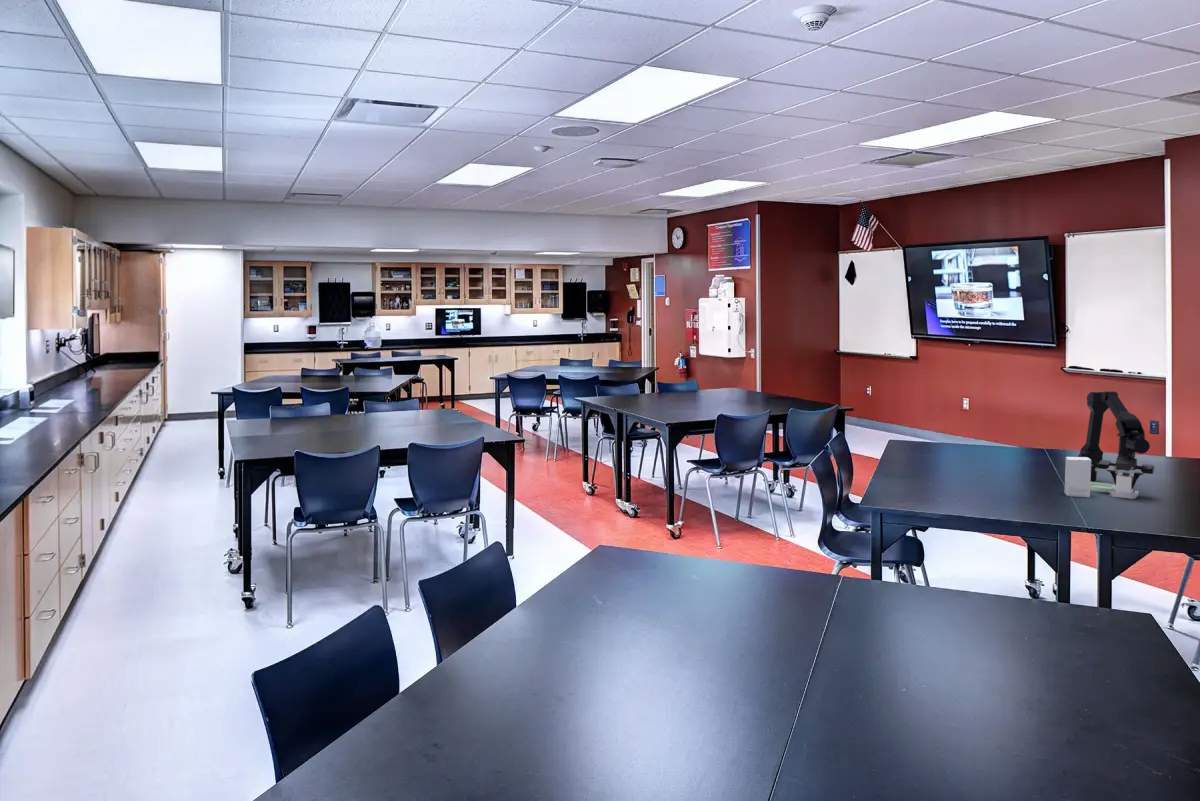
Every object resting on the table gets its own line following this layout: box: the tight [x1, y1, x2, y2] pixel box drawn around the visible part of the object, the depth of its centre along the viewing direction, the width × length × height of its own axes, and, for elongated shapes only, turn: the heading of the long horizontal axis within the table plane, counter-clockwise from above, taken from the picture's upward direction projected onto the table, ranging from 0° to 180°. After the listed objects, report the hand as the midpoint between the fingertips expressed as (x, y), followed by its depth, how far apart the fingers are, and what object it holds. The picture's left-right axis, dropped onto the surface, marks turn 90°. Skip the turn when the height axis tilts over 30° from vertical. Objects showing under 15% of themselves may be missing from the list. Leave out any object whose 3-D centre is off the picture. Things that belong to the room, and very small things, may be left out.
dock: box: [1108, 489, 1139, 500], centre depth 333 cm, size 8×10×2 cm
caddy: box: [1115, 471, 1134, 495], centre depth 333 cm, size 5×7×9 cm
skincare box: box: [1064, 456, 1092, 498], centre depth 333 cm, size 8×7×16 cm
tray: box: [1090, 481, 1116, 493], centre depth 344 cm, size 9×11×2 cm
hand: (1124, 488), depth 333 cm, fingers closed on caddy, 5 cm apart
